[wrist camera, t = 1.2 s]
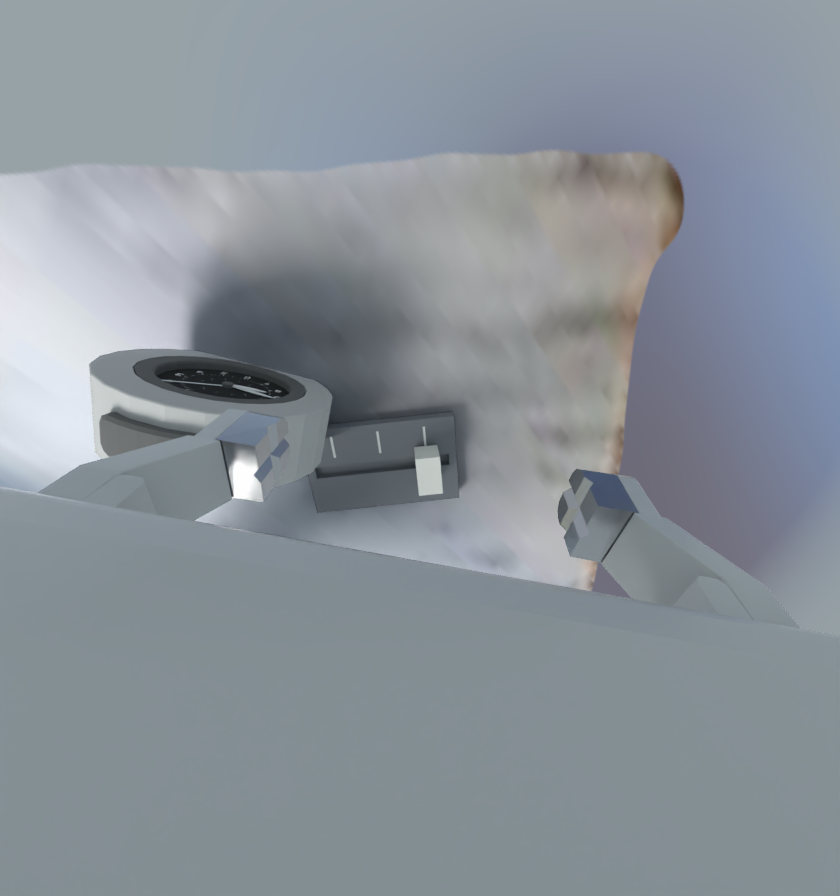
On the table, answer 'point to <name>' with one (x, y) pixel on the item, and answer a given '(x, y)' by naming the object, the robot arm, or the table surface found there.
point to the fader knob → (428, 470)
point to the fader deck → (382, 462)
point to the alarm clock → (200, 401)
